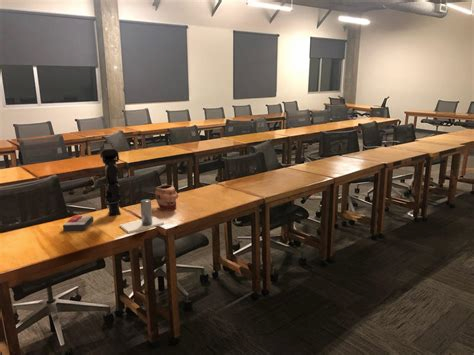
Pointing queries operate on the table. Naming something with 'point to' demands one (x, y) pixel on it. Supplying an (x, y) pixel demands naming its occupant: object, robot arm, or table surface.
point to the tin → (146, 212)
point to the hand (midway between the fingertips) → (114, 199)
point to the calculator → (77, 223)
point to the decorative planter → (166, 197)
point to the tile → (140, 225)
